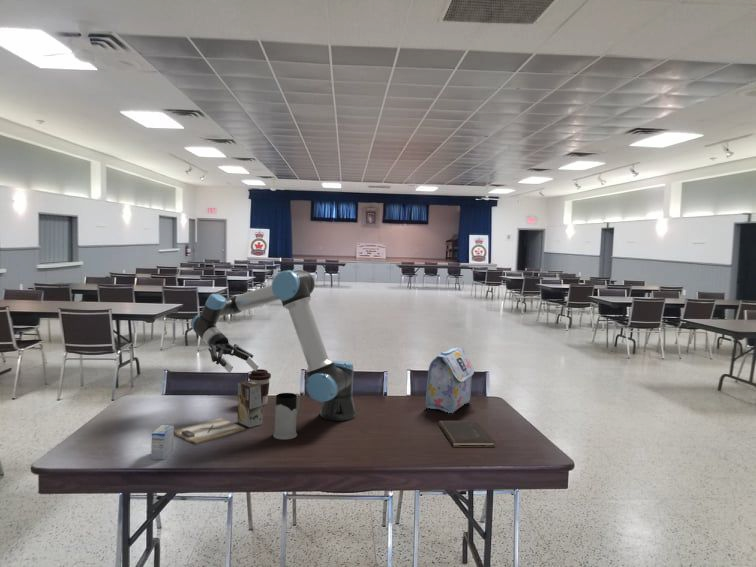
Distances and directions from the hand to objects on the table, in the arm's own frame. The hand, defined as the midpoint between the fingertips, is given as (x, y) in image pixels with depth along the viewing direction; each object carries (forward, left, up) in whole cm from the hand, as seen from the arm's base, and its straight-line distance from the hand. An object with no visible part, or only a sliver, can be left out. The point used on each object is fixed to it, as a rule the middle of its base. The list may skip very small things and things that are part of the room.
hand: (244, 369), depth 190 cm
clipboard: (-1, +16, -21) cm, 26 cm away
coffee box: (-4, 0, -21) cm, 22 cm away
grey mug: (-23, -4, -21) cm, 32 cm away
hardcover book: (-73, -50, -22) cm, 91 cm away
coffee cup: (+14, -18, -21) cm, 31 cm away
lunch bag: (-50, -78, -21) cm, 95 cm away
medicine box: (-9, +38, -21) cm, 44 cm away
